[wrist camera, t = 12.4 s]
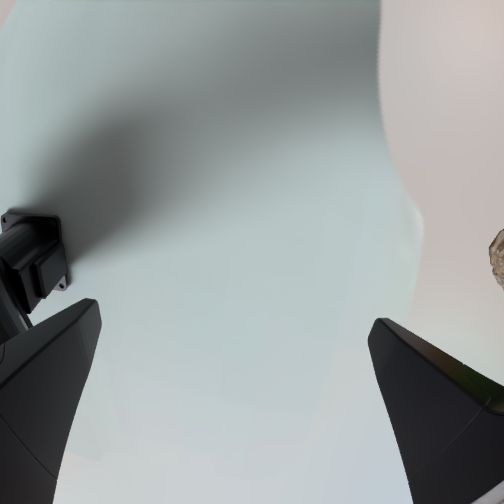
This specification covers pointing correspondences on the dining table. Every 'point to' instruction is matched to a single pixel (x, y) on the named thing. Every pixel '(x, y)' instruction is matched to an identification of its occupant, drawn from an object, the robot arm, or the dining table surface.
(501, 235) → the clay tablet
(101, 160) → the dining table surface
